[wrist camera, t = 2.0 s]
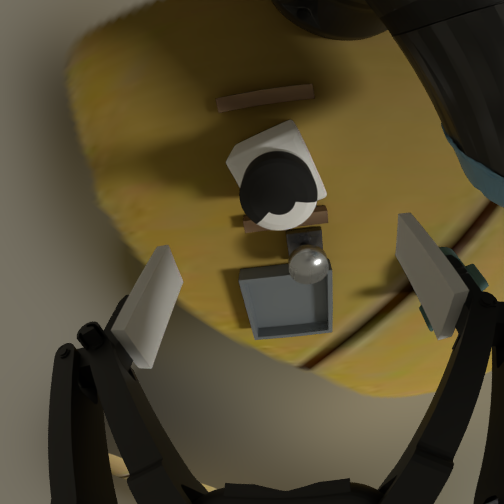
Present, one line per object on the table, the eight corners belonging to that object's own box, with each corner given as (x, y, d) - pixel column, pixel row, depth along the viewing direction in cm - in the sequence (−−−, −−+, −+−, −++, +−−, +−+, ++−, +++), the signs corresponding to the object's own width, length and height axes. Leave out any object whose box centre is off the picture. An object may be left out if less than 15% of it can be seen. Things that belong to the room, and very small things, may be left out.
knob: (284, 230, 36) (286, 254, 32) (321, 225, 35) (328, 249, 31) (289, 259, 39) (290, 286, 34) (323, 255, 38) (329, 281, 33)
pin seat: (218, 98, 28) (215, 98, 26) (310, 83, 26) (312, 83, 25) (246, 227, 36) (245, 233, 35) (326, 217, 35) (328, 222, 33)
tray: (240, 269, 40) (238, 280, 38) (329, 258, 38) (332, 269, 36) (255, 328, 46) (254, 339, 44) (330, 320, 45) (332, 331, 42)
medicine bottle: (233, 145, 31) (213, 179, 21) (291, 118, 29) (303, 137, 18) (262, 197, 34) (257, 253, 24) (317, 173, 32) (339, 221, 22)
